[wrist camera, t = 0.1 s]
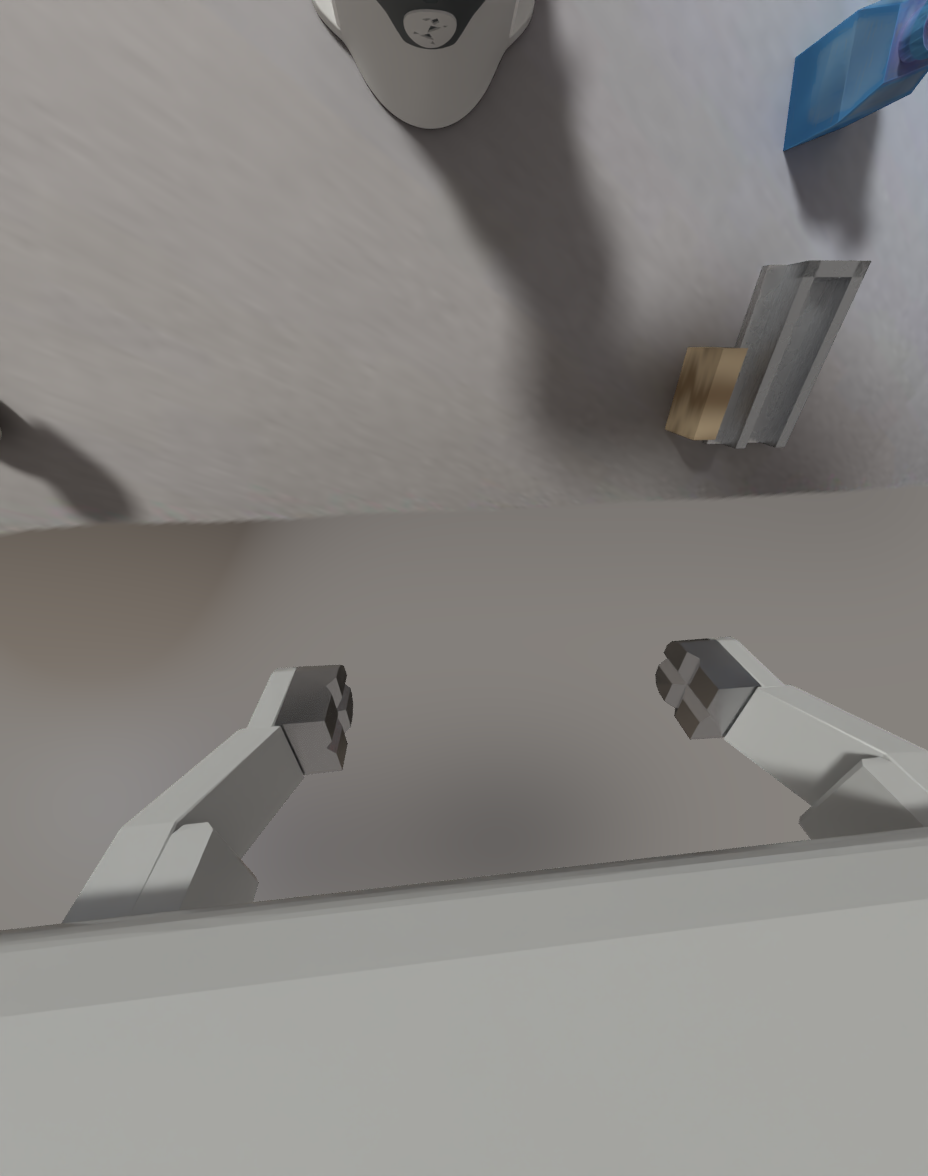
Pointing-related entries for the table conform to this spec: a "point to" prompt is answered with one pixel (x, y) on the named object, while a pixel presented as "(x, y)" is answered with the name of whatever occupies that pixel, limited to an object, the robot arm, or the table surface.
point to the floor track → (786, 347)
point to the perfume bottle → (858, 68)
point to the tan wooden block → (704, 391)
